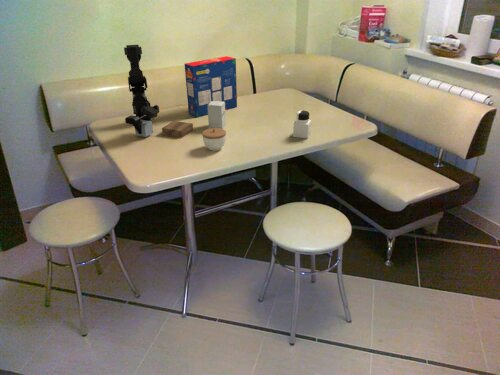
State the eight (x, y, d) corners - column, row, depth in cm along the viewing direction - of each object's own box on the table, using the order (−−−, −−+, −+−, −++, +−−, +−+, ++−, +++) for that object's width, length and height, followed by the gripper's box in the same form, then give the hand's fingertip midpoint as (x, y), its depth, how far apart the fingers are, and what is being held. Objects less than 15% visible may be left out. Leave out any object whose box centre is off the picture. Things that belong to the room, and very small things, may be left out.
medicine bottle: (310, 133, 203) (312, 110, 197) (307, 138, 197) (308, 114, 192) (296, 132, 205) (297, 108, 200) (292, 137, 199) (293, 113, 194)
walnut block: (162, 135, 204) (161, 127, 202) (174, 128, 213) (174, 120, 211) (181, 138, 201) (181, 130, 199) (193, 131, 209) (192, 123, 207)
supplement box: (222, 129, 209) (221, 105, 203) (208, 129, 210) (206, 105, 204) (226, 124, 215) (225, 101, 209) (212, 124, 217) (211, 100, 211)
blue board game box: (228, 104, 246) (227, 56, 233) (237, 107, 241) (235, 58, 227) (188, 114, 231) (184, 63, 217) (196, 117, 226) (192, 66, 212)
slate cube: (135, 135, 201) (134, 123, 198) (143, 131, 206) (141, 119, 203) (146, 136, 199) (144, 125, 196) (153, 132, 204) (151, 121, 201)
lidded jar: (229, 151, 186) (228, 131, 181) (205, 154, 183) (204, 134, 179) (223, 142, 195) (222, 123, 190) (201, 145, 192) (199, 126, 188)
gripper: (142, 108, 184) (147, 141, 192) (165, 97, 199) (168, 127, 207) (121, 106, 188) (127, 137, 195) (145, 94, 203) (149, 124, 210)
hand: (144, 131), depth 202 cm, fingers closed on slate cube, 6 cm apart
